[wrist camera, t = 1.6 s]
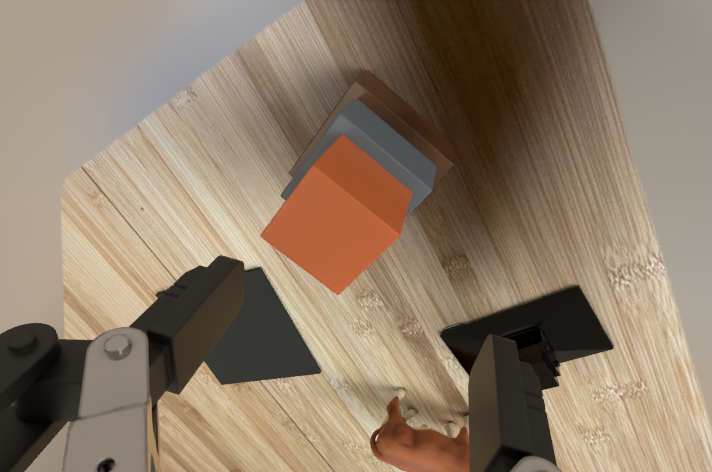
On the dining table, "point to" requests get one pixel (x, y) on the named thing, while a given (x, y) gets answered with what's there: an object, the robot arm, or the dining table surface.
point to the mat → (260, 339)
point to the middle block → (375, 151)
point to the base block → (391, 123)
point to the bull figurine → (419, 443)
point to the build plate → (536, 333)
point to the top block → (340, 215)
